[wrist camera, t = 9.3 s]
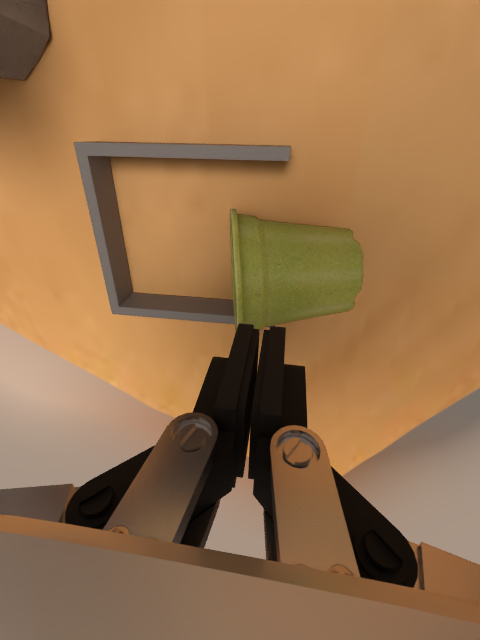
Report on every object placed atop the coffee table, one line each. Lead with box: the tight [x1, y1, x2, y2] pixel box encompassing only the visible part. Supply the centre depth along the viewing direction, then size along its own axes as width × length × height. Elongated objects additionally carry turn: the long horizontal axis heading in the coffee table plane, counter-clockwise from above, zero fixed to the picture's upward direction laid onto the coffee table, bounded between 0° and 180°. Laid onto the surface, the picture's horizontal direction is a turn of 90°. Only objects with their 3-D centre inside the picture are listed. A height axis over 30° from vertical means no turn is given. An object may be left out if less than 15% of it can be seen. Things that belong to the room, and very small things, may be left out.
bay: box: [74, 142, 291, 327], centre depth 25 cm, size 15×14×3 cm
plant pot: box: [230, 209, 363, 331], centre depth 23 cm, size 9×9×9 cm
